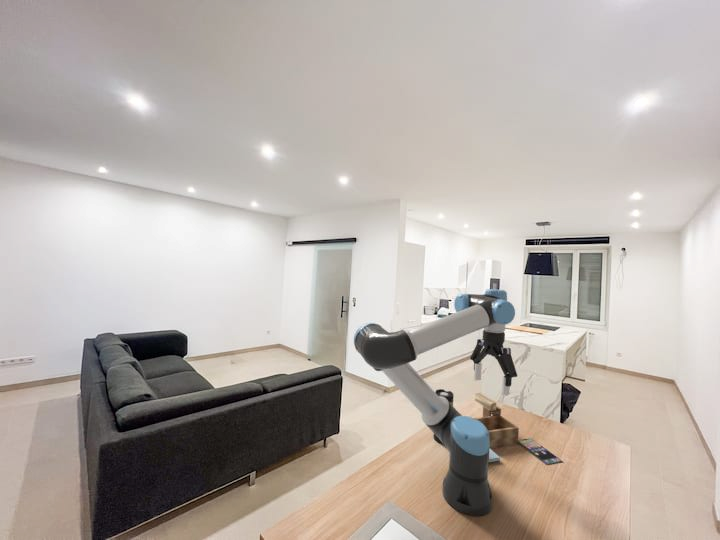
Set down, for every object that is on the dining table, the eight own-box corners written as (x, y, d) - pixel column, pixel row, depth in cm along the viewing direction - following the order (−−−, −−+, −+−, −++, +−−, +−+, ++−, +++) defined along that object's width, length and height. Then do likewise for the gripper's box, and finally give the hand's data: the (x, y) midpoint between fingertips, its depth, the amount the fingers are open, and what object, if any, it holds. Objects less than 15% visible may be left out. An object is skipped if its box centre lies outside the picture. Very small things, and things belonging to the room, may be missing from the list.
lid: (464, 469, 110) (465, 447, 110) (448, 451, 120) (449, 431, 120) (499, 463, 115) (500, 441, 114) (481, 446, 125) (482, 426, 125)
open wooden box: (486, 449, 122) (487, 426, 122) (463, 429, 137) (464, 408, 136) (519, 443, 127) (520, 421, 127) (493, 424, 142) (494, 404, 141)
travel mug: (438, 445, 123) (441, 397, 123) (429, 435, 131) (431, 389, 130) (455, 443, 126) (457, 396, 125) (445, 433, 133) (447, 388, 132)
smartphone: (546, 466, 114) (546, 463, 114) (516, 443, 129) (516, 440, 129) (562, 463, 116) (563, 460, 116) (531, 440, 131) (531, 437, 131)
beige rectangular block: (490, 411, 137) (491, 403, 137) (474, 400, 148) (475, 393, 148) (496, 410, 138) (496, 403, 138) (479, 399, 149) (480, 392, 149)
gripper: (531, 338, 102) (527, 400, 103) (477, 323, 125) (474, 373, 126) (514, 339, 99) (511, 402, 100) (463, 324, 123) (460, 375, 123)
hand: (490, 386), depth 113 cm, fingers open, 13 cm apart
